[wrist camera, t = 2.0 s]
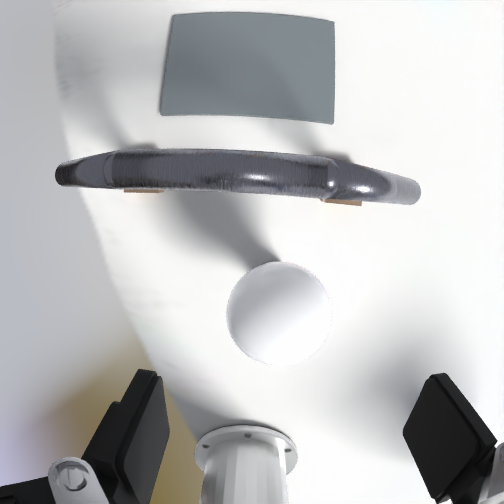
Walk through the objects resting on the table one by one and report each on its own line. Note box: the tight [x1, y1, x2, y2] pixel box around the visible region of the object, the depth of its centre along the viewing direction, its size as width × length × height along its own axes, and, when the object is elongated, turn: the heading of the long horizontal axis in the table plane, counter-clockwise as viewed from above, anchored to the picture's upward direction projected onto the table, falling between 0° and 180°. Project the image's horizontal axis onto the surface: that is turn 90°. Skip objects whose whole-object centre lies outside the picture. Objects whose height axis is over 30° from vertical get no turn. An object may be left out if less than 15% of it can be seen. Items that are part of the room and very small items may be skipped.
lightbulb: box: [226, 262, 332, 366], centre depth 20 cm, size 6×6×11 cm
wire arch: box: [55, 149, 421, 206], centre depth 16 cm, size 3×19×17 cm, turn 86°
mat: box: [160, 12, 335, 124], centre depth 21 cm, size 10×14×1 cm
